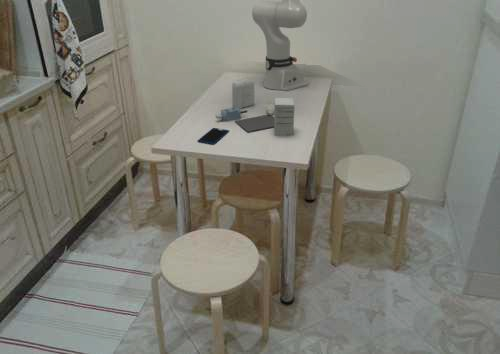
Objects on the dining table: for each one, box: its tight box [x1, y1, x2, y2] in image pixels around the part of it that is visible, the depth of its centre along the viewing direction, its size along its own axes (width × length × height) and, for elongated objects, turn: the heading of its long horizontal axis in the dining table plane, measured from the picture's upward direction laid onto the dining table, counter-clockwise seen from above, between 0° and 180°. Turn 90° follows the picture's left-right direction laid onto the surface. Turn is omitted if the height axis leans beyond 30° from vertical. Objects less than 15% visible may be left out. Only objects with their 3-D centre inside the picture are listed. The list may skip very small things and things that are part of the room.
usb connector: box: [215, 107, 248, 123], centre depth 196 cm, size 14×4×4 cm, turn 116°
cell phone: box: [197, 127, 230, 146], centre depth 182 cm, size 7×14×1 cm, turn 157°
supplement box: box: [273, 97, 295, 136], centre depth 182 cm, size 7×7×13 cm
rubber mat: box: [234, 114, 274, 134], centre depth 192 cm, size 16×12×1 cm
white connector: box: [266, 102, 275, 116], centre depth 202 cm, size 10×3×3 cm, turn 177°
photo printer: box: [231, 77, 255, 109], centre depth 207 cm, size 10×4×12 cm, turn 123°
